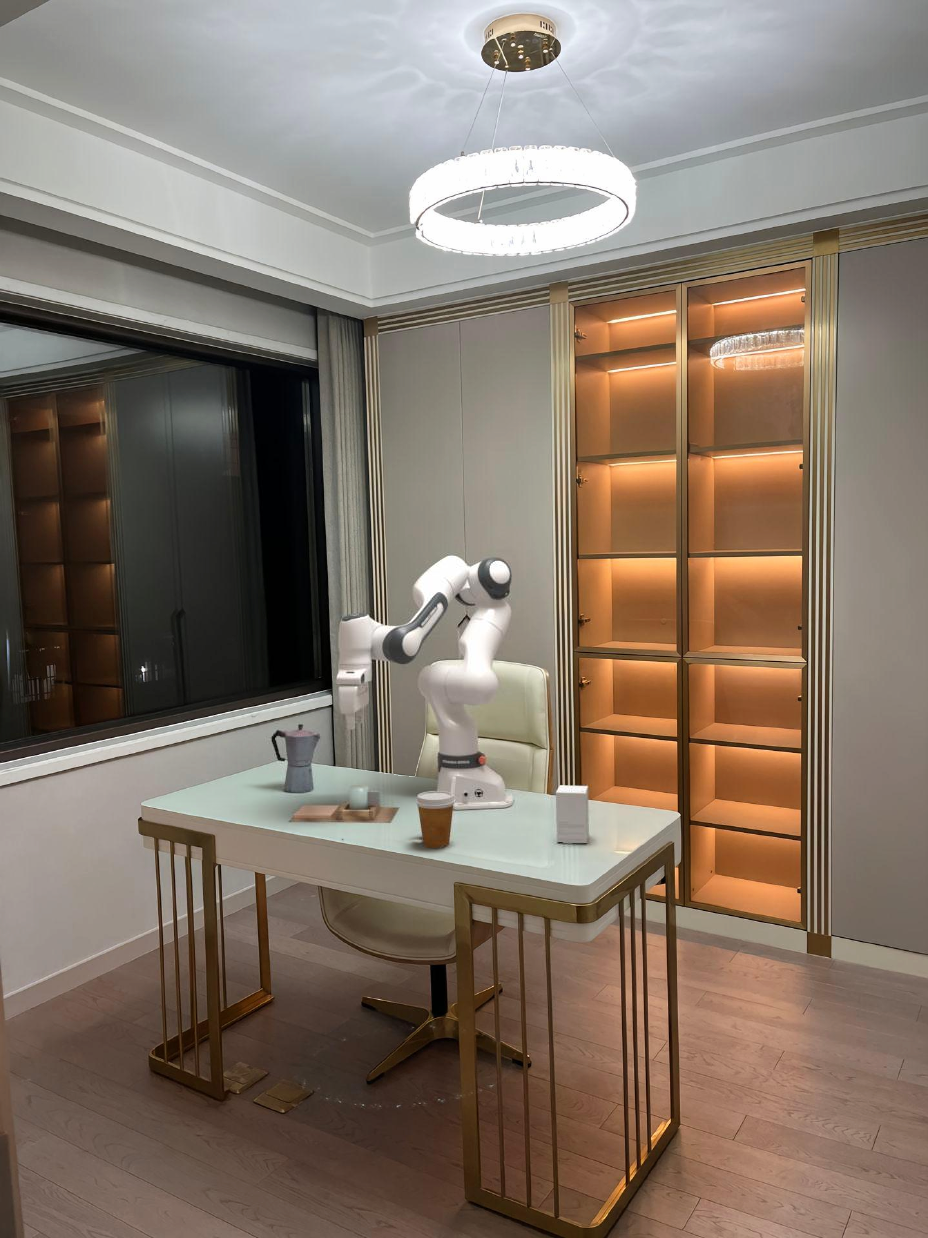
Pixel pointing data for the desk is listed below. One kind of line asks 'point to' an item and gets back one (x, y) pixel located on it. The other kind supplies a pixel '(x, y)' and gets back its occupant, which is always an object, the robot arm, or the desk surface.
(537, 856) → the desk surface
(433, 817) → the disposable coffee cup
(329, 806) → the terracotta coaster
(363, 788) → the pale blue rounded piece
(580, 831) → the supplement box
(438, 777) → the robot arm
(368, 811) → the walnut board
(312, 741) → the moka pot
